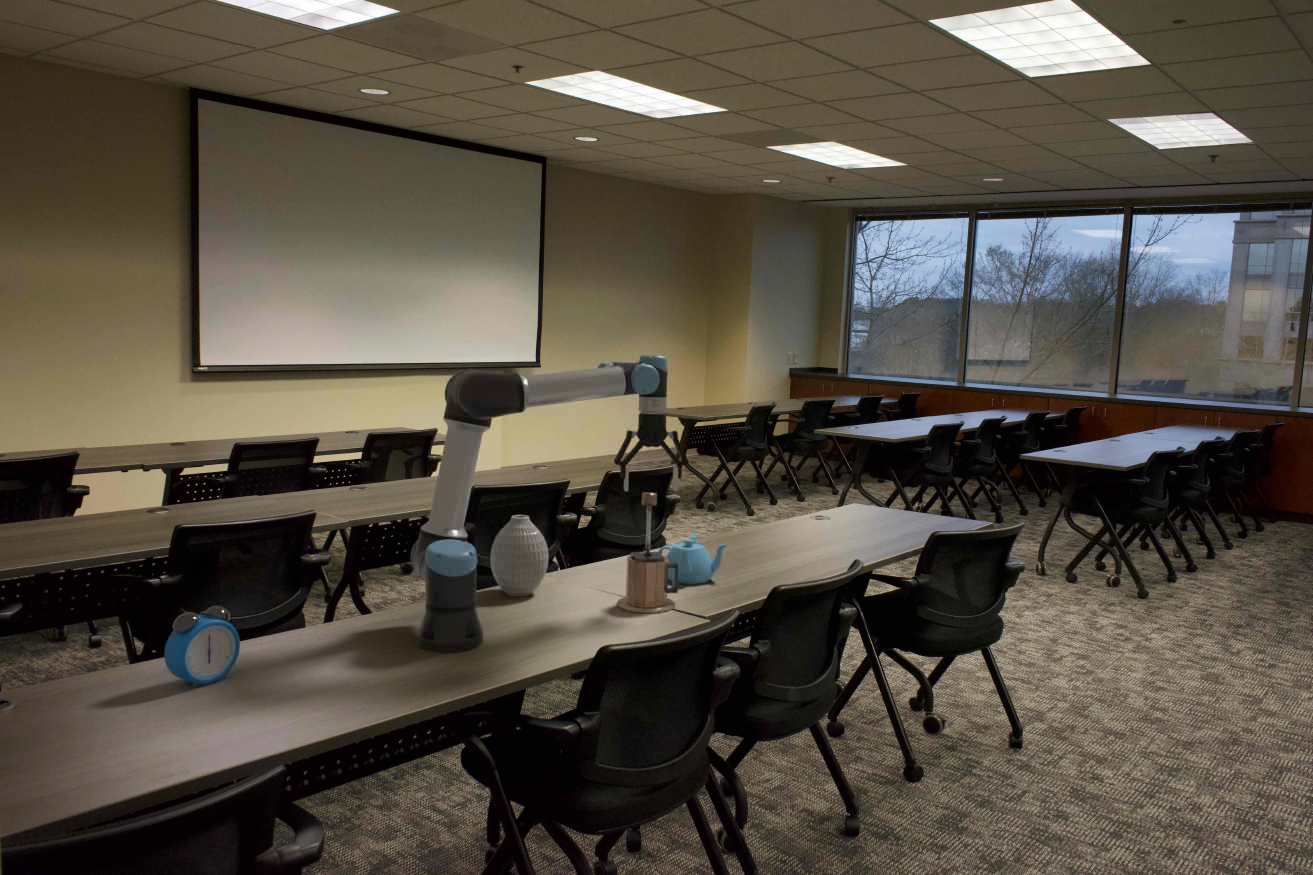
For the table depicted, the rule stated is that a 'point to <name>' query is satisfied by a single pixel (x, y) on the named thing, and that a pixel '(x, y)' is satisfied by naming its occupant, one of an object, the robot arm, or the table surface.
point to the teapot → (692, 561)
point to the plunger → (648, 517)
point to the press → (648, 584)
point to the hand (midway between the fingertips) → (650, 490)
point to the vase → (519, 557)
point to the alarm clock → (202, 646)
